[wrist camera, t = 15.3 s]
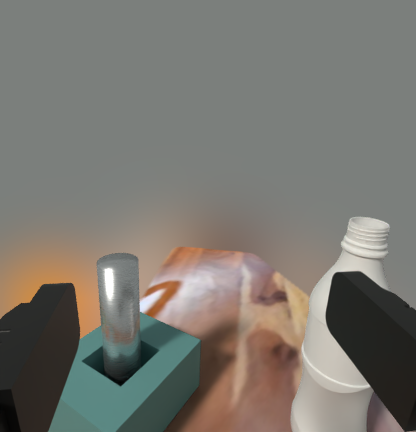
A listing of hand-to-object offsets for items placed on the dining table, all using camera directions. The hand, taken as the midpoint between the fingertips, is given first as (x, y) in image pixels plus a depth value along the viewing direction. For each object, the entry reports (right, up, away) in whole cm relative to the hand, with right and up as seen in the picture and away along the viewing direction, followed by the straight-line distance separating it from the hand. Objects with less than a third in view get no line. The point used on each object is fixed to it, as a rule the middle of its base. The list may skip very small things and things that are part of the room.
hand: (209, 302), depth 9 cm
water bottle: (+12, -22, +23) cm, 34 cm away
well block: (-10, -20, +27) cm, 34 cm away
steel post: (-10, -19, +26) cm, 34 cm away
